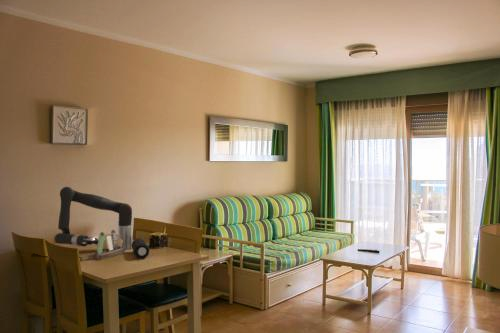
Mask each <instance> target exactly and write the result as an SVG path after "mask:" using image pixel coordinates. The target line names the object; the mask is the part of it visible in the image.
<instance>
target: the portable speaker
mask: <svg viewBox="0 0 500 333" xmlns="http://www.w3.org/2000/svg"><path fill="white" fill-rule="evenodd" d="M131 249H132V251H133V253H134V255H135V256H136V258H138V259H140V258H141V259H145V258H147V257H148V255H149V254H150V247H149V245H148V244H147V242H146V241H145V240H144V239H142V238H139V237H138V238H136V239H134V240H133V241H131Z"/></svg>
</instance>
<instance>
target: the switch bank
mask: <svg viewBox="0 0 500 333" xmlns="http://www.w3.org/2000/svg"><path fill="white" fill-rule="evenodd" d="M124 254H125V249H120V246H118V249H116V247H114V246H113V250H110V251H109V249H107V248H106V249H105V250H102V253H101V254H98V252H97V251H95V252H93V253H90V259H92V260H97V261H98V260H99V261H103V260H105V259H109V258H113V257H116V256H119V255H124Z"/></svg>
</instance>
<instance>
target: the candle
mask: <svg viewBox="0 0 500 333" xmlns="http://www.w3.org/2000/svg"><path fill="white" fill-rule="evenodd" d="M167 237H168V233H165V232H154V233H153V232H152V233H150V234H149V235H148V239H149V240H148V241H149V242H148V244H149V245H148V247H149V248H154V247H162V248H164V247H168V238H167Z"/></svg>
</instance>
